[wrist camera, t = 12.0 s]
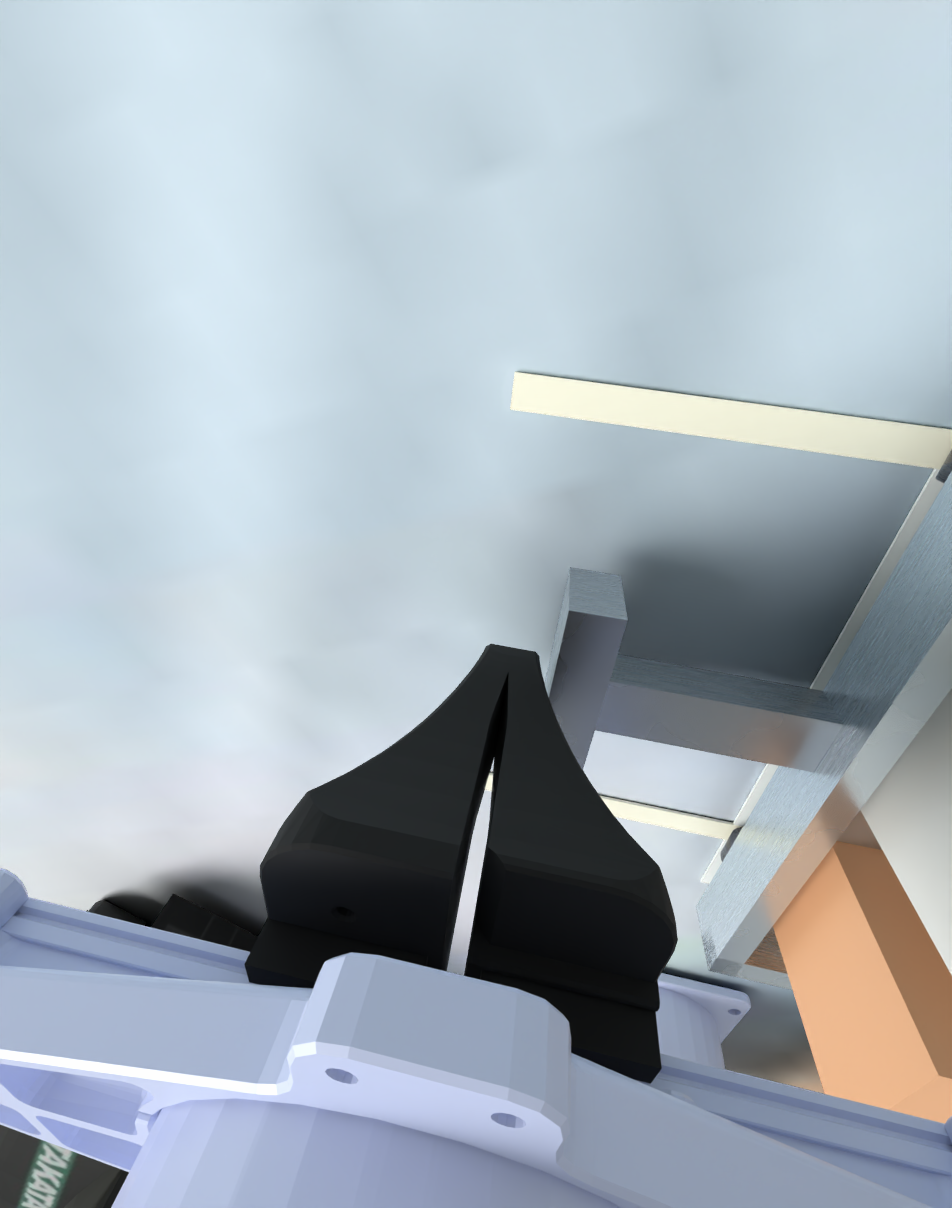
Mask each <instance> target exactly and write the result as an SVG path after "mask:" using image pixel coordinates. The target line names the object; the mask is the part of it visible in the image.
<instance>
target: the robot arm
mask: <svg viewBox="0 0 952 1208" xmlns="http://www.w3.org/2000/svg"><path fill="white" fill-rule="evenodd" d="M493 759H494V769H493V782H492V795H491V808H490V821H489V830H488V838H487V844H486V850H485V856H484V862H483V868H482V873H481V879H480V885H479V891H478V897H477V903H476V909H475V915H474V921H473V927H472V932H471V938H470V944H469V950H468V956H467V962H466V968H465V974H464V976H463V975H459V974H455V973H450V972H446V971H447V965H448V960H449V955H450V949H451V944H452V939H453V933H454V928H455V923H456V917H457V912H458V907H459V902H460V896H461V891H462V886H463V881H464V875H465V870H466V865H467V860H468V854H469V849H470V844H471V839H472V834H473V830H474V826H475V822H476V818H477V814H478V811H479V807H480V804H481V800H482V797H483V793H484V790H485V787H486V783H487V780H488V776H489V773H490V769H491V766H492V762H493ZM260 879H261V884H262V889H263V894H264V899H265V903H266V908H267V913H268V918H267V920H266V922H265V924H264V926H263V928H262V930H261V932H260V934H259V936H258V938H257V940H256V942H255V944H254V946H253V948H252V950H251V952H248V951H244V950H240V949H236V948H232V947H228V946H224V945H220V944H216V943H212V942H208V941H204V940H200V939H196V938H192V937H187V936H183V935H179V934H175V933H171V932H167V931H163V930H159V929H155V928H151V927H147V926H143V925H139V924H135V923H131V922H127V921H123V920H119V919H115V918H111V917H107V916H102V915H98V914H94V913H90V912H86V911H82V910H78V909H74V908H70V907H66V906H62V905H58V904H54V903H50V902H46V901H42V900H38V899H34V898H30V897H28V893H27V890H26V888H25V886H24V884H23V883H22V881H21V880H20V879H19V878H18V877H17V876H16V875H14V874H13V873H11V872H9V871H8V870H5V869H2V868H0V1125H3V1126H6V1127H8V1128H11V1129H14V1130H16V1131H19V1132H22V1133H25V1134H27V1135H30V1136H33V1137H35V1138H38V1139H41V1140H43V1141H46V1142H49V1143H52V1144H54V1145H57V1146H60V1147H62V1148H65V1149H68V1150H70V1151H73V1152H76V1153H78V1154H81V1155H84V1156H87V1157H89V1158H92V1159H95V1160H97V1161H100V1162H103V1163H105V1164H108V1165H111V1166H113V1167H116V1168H119V1169H122V1170H124V1171H127V1172H129V1174H128V1176H127V1178H126V1180H125V1182H124V1184H123V1185H122V1187H121V1189H120V1191H119V1193H118V1195H117V1197H116V1199H115V1201H114V1203H113V1205H112V1207H111V1208H952V1116H951V1117H950V1118H949V1119H948V1120H947V1121H946V1123H945V1124H944V1123H940V1122H936V1121H932V1120H928V1119H924V1118H920V1117H916V1116H912V1115H908V1114H904V1113H900V1112H896V1111H892V1110H888V1109H884V1108H880V1107H876V1106H872V1105H867V1104H863V1103H859V1102H855V1101H851V1100H847V1099H843V1098H839V1097H835V1096H831V1095H827V1094H823V1093H819V1092H815V1091H811V1090H807V1089H803V1088H799V1087H795V1086H791V1085H787V1084H782V1083H778V1082H774V1081H770V1080H766V1079H762V1078H758V1077H754V1076H750V1075H746V1074H742V1073H738V1072H734V1071H730V1070H726V1069H725V1063H724V1058H723V1053H722V1048H721V1043H722V1042H723V1040H724V1039H725V1038H726V1037H727V1036H728V1034H729V1033H730V1032H731V1031H732V1030H733V1028H734V1027H735V1026H736V1025H737V1024H738V1023H739V1021H740V1020H741V1019H742V1018H743V1017H744V1015H745V1014H746V1013H747V1012H748V1011H749V1009H750V1008H751V1003H750V999H749V997H748V995H747V994H745V993H743V992H741V991H737V990H732V989H728V988H724V987H719V986H715V985H711V984H707V983H702V982H698V981H694V980H689V979H685V978H681V977H677V976H672V975H668V974H664V973H662V971H663V969H664V968H665V966H666V964H667V963H668V961H669V959H670V958H671V956H672V954H673V952H674V950H675V947H676V944H677V941H678V938H677V930H676V922H675V917H674V913H673V909H672V905H671V901H670V898H669V895H668V891H667V888H666V885H665V882H664V879H663V876H662V873H661V870H660V867H659V866H658V865H657V864H656V863H655V861H654V860H653V859H652V858H651V857H650V856H649V855H648V854H647V853H646V852H645V851H644V850H643V849H642V848H641V847H640V845H639V844H638V843H637V842H636V841H635V840H634V839H633V838H632V837H631V836H630V835H629V834H628V833H627V831H626V830H625V829H624V828H623V826H622V825H621V824H620V823H619V821H618V820H617V819H616V818H615V816H614V815H613V814H612V813H611V811H610V810H609V808H608V807H607V806H606V804H605V803H604V801H603V800H602V798H601V797H600V796H599V794H598V793H597V791H596V790H595V789H594V787H593V786H592V784H591V783H590V781H589V780H588V778H587V776H586V775H585V773H584V772H583V770H582V768H581V767H580V765H579V763H578V761H577V760H576V758H575V756H574V754H573V752H572V750H571V749H570V747H569V745H568V743H567V741H566V738H565V736H564V734H563V732H562V730H561V728H560V725H559V723H558V721H557V718H556V716H555V713H554V711H553V708H552V705H551V702H550V700H549V697H548V694H547V691H546V687H545V684H544V680H543V677H542V672H541V667H540V660H539V655H538V654H537V653H536V652H534V651H528V650H522V649H517V648H511V647H506V646H500V645H495V644H490V645H488V646H486V648H485V650H484V652H483V653H482V655H481V657H480V658H479V660H478V661H477V663H476V664H475V666H474V667H473V668H472V670H471V671H470V672H469V674H468V675H467V676H466V677H465V678H464V680H463V681H462V682H461V683H460V684H459V686H458V687H457V688H456V689H455V690H454V691H453V692H452V693H451V694H450V695H449V697H448V698H447V699H446V700H445V701H444V702H443V703H442V704H441V705H440V706H439V707H438V708H437V709H436V710H435V711H434V712H433V713H432V714H430V715H429V716H428V717H427V718H426V719H425V720H424V721H423V722H421V723H420V724H419V725H418V726H417V727H415V728H414V729H413V730H412V731H411V732H409V733H408V734H407V735H405V736H404V737H403V738H401V739H400V740H399V741H397V742H396V743H395V744H393V745H392V746H390V747H389V748H387V749H386V750H384V751H383V752H381V753H380V754H378V755H377V756H375V757H373V758H372V759H370V760H368V761H367V762H365V763H363V764H362V765H360V766H358V767H357V768H355V769H353V770H351V771H350V772H348V773H346V774H344V775H342V776H340V777H338V778H336V779H334V780H332V781H330V782H328V783H325V784H323V785H321V786H319V787H317V788H315V789H312V790H310V791H308V792H307V793H306V794H305V796H304V797H303V798H302V799H301V801H300V802H299V803H298V804H297V806H296V807H295V808H294V810H293V811H292V812H291V814H290V815H289V816H288V818H287V819H286V820H285V822H284V823H283V825H282V826H281V828H280V830H279V831H278V833H277V835H276V837H275V839H274V841H273V843H272V844H271V846H270V848H269V850H268V852H267V854H266V855H265V857H264V859H263V861H262V863H261V865H260Z"/></svg>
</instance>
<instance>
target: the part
mask: <svg viewBox="0 0 952 1208" xmlns="http://www.w3.org/2000/svg"><path fill="white" fill-rule="evenodd" d="M860 810H861V812H862V814H863V816H864V817H865V819H866V821H867V823H868V825H869V827H870V828H871V830H872V832H873V834H874V836H875V837H876V839H877V841H878V843H879V845H880V846H881V848H882V850H883V852H884V854H885V856H886V857H887V859H888V861H889V863H890V865H891V866H892V868H893V870H894V872H895V874H896V875H897V877H898V879H899V881H900V883H901V885H902V886H903V888H904V890H905V892H906V894H907V895H908V897H909V899H910V901H911V903H912V904H913V906H914V908H915V910H916V912H917V914H918V915H919V917H920V919H921V921H922V923H923V924H924V926H925V928H926V930H927V932H928V934H929V935H930V937H931V939H932V941H933V943H934V944H935V946H936V948H937V950H938V952H939V953H940V955H941V957H942V959H943V961H944V963H945V964H946V966H947V968H948V970H949V972H950V973H951V975H952V689H951V690H950V691H949V693H948V694H947V695H946V697H945V698H944V699H943V701H942V702H941V703H940V705H939V706H938V707H937V709H936V710H935V711H934V713H933V714H932V715H931V717H930V718H929V719H928V721H927V722H926V723H925V725H924V726H923V727H922V729H921V730H920V731H919V732H918V734H917V735H916V736H915V738H914V739H913V740H912V742H911V743H910V744H909V746H908V747H907V748H906V750H905V751H904V752H903V754H902V755H901V756H900V758H899V759H898V760H897V762H896V763H895V764H894V766H893V767H892V768H891V770H890V771H889V772H888V774H887V775H886V776H885V778H884V779H883V780H882V782H881V783H880V784H879V786H878V787H877V788H876V790H875V791H874V792H873V794H872V795H871V796H870V798H869V799H868V800H867V802H866V803H865V804H864V805H863V807H862V808H861V809H860Z"/></svg>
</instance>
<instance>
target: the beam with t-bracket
mask: <svg viewBox="0 0 952 1208" xmlns="http://www.w3.org/2000/svg"><path fill="white" fill-rule="evenodd" d="M935 478H936V479H937V480H938V481H940V482H942V483H944V485H943V487H942V488H941V490H940V492H939V493H938V495H937V497H936V499H935V500H934V502H933V504H932V505H931V507H930V509H929V510H928V512H927V514H926V516H925V517H924V519H923V521H922V522H921V524H920V526H919V528H918V529H917V531H916V533H915V534H914V536H913V538H912V539H911V541H910V543H909V545H908V546H907V548H906V550H905V551H904V553H903V555H902V556H901V558H900V560H899V562H898V563H897V565H896V567H895V568H894V570H893V572H892V574H891V575H890V577H889V579H888V580H887V582H886V584H885V585H884V587H883V589H882V591H881V592H880V594H879V596H878V597H877V599H876V601H875V603H874V604H873V606H872V608H871V609H870V611H869V613H868V614H867V616H866V618H865V620H864V621H863V623H862V625H861V626H860V628H859V630H858V632H857V633H856V635H855V637H854V638H853V640H852V642H851V643H850V645H849V647H848V649H847V650H846V652H845V654H844V655H843V657H842V659H841V661H840V662H839V664H838V666H837V667H836V669H835V671H834V672H833V674H832V676H831V678H830V679H829V681H828V683H827V684H826V686H825V688H824V690H823V691H821V690H816V689H810V688H804V687H799V686H793V685H788V684H782V683H777V682H771V681H765V680H760V679H754V678H749V677H743V676H738V675H732V674H726V673H721V672H715V671H710V670H704V669H699V668H693V667H687V666H682V665H676V664H671V663H665V662H660V661H654V660H648V659H643V658H637V657H632V656H626V655H621V654H618V652H619V648H620V645H621V642H622V638H623V635H624V632H625V628H626V625H627V622H628V618H627V612H626V605H625V599H624V592H623V586H622V580H621V576H619V575H613V574H607V573H601V572H595V571H589V570H583V569H577V568H571V567H570V570H569V575H568V579H567V584H566V588H565V593H564V597H563V602H562V606H561V611H560V616H559V620H558V625H557V629H556V634H555V638H554V643H553V648H552V652H551V657H550V661H549V666H548V670H547V675H546V679H545V687H546V691H547V694H548V697H549V700H550V702H551V705H552V708H553V711H554V713H555V716H556V718H557V721H558V723H559V725H560V728H561V730H562V732H563V734H564V736H565V738H566V741H567V743H568V745H569V747H570V749H571V750H572V752H573V754H574V756H575V758H576V760H577V761H578V763H579V765H580V767H581V768H582V770H583V767H584V764H585V761H586V757H587V754H588V751H589V747H590V744H591V741H592V737H593V734H594V731H595V730H597V731H602V732H607V733H613V734H618V735H623V736H628V737H633V738H638V739H644V740H649V741H654V742H659V743H664V744H669V745H675V746H680V747H685V748H690V749H695V750H700V751H705V752H711V753H716V754H721V755H726V756H731V757H736V758H742V759H747V760H752V761H757V762H762V763H767V764H773V765H778V768H777V770H776V771H775V773H774V775H773V776H772V778H771V780H770V782H769V783H768V785H767V787H766V788H765V790H764V792H763V794H762V795H761V797H760V799H759V800H758V802H757V804H756V805H755V807H754V809H753V811H752V812H751V814H750V816H749V817H748V819H747V821H746V823H745V824H744V826H743V828H736V829H734V830H733V831H732V833H731V835H730V836H729V838H728V840H727V842H726V843H725V845H724V847H723V849H722V850H721V854H720V856H721V860H722V863H721V865H720V867H719V869H718V870H717V872H716V874H715V875H714V877H713V879H712V880H711V882H710V884H709V886H708V887H707V889H706V891H705V892H704V894H703V896H702V898H701V899H700V901H699V903H698V904H697V906H696V909H697V914H698V919H699V925H700V930H701V935H702V940H703V945H704V950H705V955H706V961H707V966H708V970H709V971H713V972H717V973H722V974H726V975H730V976H735V977H739V978H743V979H747V980H752V981H756V982H760V983H765V984H769V985H773V986H778V987H782V988H786V989H791V990H792V986H791V983H790V980H789V977H788V974H787V970H786V967H785V964H784V961H783V957H782V954H781V951H780V948H779V945H778V941H777V938H776V935H775V932H774V928H773V925H774V924H775V922H776V921H777V920H778V918H779V917H780V916H781V914H782V913H783V912H784V910H785V909H786V908H787V906H788V905H789V904H790V902H791V901H792V900H793V898H794V897H795V896H796V894H797V893H798V892H799V890H800V889H801V888H802V886H803V885H804V884H805V882H806V881H807V880H808V879H809V877H810V876H811V875H812V873H813V872H814V871H815V869H816V868H817V867H818V865H819V864H820V863H821V861H822V860H823V859H824V857H825V856H826V855H827V853H828V852H829V851H830V849H831V848H832V847H833V845H834V844H835V843H836V841H840V842H845V843H850V844H855V845H860V846H864V847H869V848H874V849H879V850H882V848H881V846H880V845H879V843H878V841H877V839H876V837H875V836H874V834H873V832H872V830H871V828H870V827H869V825H868V823H867V821H866V819H865V817H864V816H863V814H862V812H861V810H860V809H861V808H862V807H863V805H864V804H865V803H866V802H867V800H868V799H869V798H870V796H871V795H872V794H873V792H874V791H875V790H876V788H877V787H878V786H879V784H880V783H881V782H882V780H883V779H884V778H885V776H886V775H887V774H888V772H889V771H890V770H891V768H892V767H893V766H894V764H895V763H896V762H897V760H898V759H899V758H900V756H901V755H902V754H903V752H904V751H905V750H906V748H907V747H908V746H909V744H910V743H911V742H912V740H913V739H914V738H915V736H916V735H917V734H918V732H919V731H920V730H921V729H922V727H923V726H924V725H925V723H926V722H927V721H928V719H929V718H930V717H931V715H932V714H933V713H934V711H935V710H936V709H937V707H938V706H939V705H940V703H941V702H942V701H943V699H944V698H945V697H946V695H947V694H948V693H949V691H950V690H951V689H952V449H951V451H950V453H949V455H948V456H947V458H946V460H945V462H944V463H943V465H942V467H941V469H940V470H939V472H938V474H937V476H936V477H935Z"/></svg>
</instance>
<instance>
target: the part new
mask: <svg viewBox="0 0 952 1208" xmlns="http://www.w3.org/2000/svg"><path fill="white" fill-rule="evenodd" d="M773 928H774V932H775V935H776V938H777V941H778V945H779V948H780V951H781V954H782V957H783V961H784V964H785V967H786V970H787V974H788V977H789V980H790V983H791V986H792V990H793V993H794V996H795V999H796V1003H797V1006H798V1009H799V1012H800V1016H801V1019H802V1022H803V1025H804V1028H805V1032H806V1035H807V1038H808V1041H809V1045H810V1048H811V1051H812V1054H813V1057H814V1061H815V1064H816V1067H817V1070H818V1074H819V1077H820V1080H821V1083H822V1086H823V1090H824V1093H825V1094H827V1095H831V1096H835V1097H839V1098H843V1099H847V1100H851V1101H855V1102H859V1103H863V1104H867V1105H872V1106H876V1107H880V1108H884V1109H888V1110H892V1111H896V1112H900V1113H904V1114H908V1115H912V1116H916V1117H920V1118H924V1119H928V1120H932V1121H936V1122H940V1123H944V1124H945V1123H946V1121H947V1120H948V1119H949V1118H950V1117H951V1116H952V975H951V973H950V972H949V970H948V968H947V966H946V964H945V963H944V961H943V959H942V957H941V955H940V953H939V952H938V950H937V948H936V946H935V944H934V943H933V941H932V939H931V937H930V935H929V934H928V932H927V930H926V928H925V926H924V924H923V923H922V921H921V919H920V917H919V915H918V914H917V912H916V910H915V908H914V906H913V904H912V903H911V901H910V899H909V897H908V895H907V894H906V892H905V890H904V888H903V886H902V885H901V883H900V881H899V879H898V877H897V875H896V874H895V872H894V870H893V868H892V866H891V865H890V863H889V861H888V859H887V857H886V856H885V854H884V852H883V850H879V849H874V848H869V847H864V846H860V845H855V844H850V843H845V842H840V841H836V843H835V844H834V845H833V847H832V848H831V849H830V851H829V852H828V853H827V855H826V856H825V857H824V859H823V860H822V861H821V863H820V864H819V865H818V867H817V868H816V869H815V871H814V872H813V873H812V875H811V876H810V877H809V879H808V880H807V881H806V882H805V884H804V885H803V886H802V888H801V889H800V890H799V892H798V893H797V894H796V896H795V897H794V898H793V900H792V901H791V902H790V904H789V905H788V906H787V908H786V909H785V910H784V912H783V913H782V914H781V916H780V917H779V918H778V920H777V921H776V922H775V924H774V925H773Z"/></svg>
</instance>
